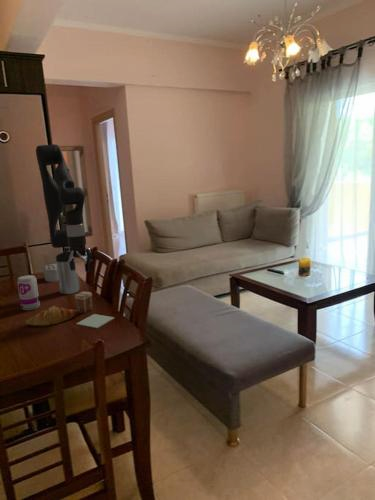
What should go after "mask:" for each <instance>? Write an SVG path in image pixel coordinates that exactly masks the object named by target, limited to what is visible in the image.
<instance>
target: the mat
mask: <svg viewBox="0 0 375 500" xmlns="http://www.w3.org/2000/svg"><path fill="white" fill-rule="evenodd" d="M114 319H115V317H114V316H108V315H102V314H97V313H94V314H91V315H90V316H88V317H85V318H84V319H82V320H80V321H79V322H76V323H75V325H77V326H83V327H87V328H93V329H98V328H101V327H102V326H104V325H106V324H107V323H109V322H111V321H113V320H114Z"/></svg>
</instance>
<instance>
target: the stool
mask: <svg viewBox="0 0 375 500" xmlns="http://www.w3.org/2000/svg"><path fill="white" fill-rule="evenodd" d="M92 297H93V293H92V292H89V291H81V292H79V293H77V294H74V299H75V303H76V310H78V313H80V312H81V307H80V305H81V304H80V300H81V301H82V308H83V313H84V314H87V312H88V311H87V304H86V303H87V302H86V299H88V304H89V305H88V306H89V311H92V310H93V302H92Z"/></svg>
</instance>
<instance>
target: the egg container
mask: <svg viewBox="0 0 375 500" xmlns="http://www.w3.org/2000/svg"><path fill="white" fill-rule="evenodd" d="M43 273H44V274H43V275H44V281H45V282H47V283H54V281H55V282H59V281H58V280H59V278H58V270H57V263H48V264H47V265H44V267H43Z"/></svg>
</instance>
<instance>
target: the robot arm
mask: <svg viewBox="0 0 375 500" xmlns="http://www.w3.org/2000/svg"><path fill="white" fill-rule="evenodd" d="M35 155H36V156H35V157H36V160H37V165H38V169H39V173H40V177H41V182H42V183H41V184H42V191H43V198H44V203H45V209H46V215H47V219H48V229H49V239H50V244H51V246H52V248H55V249H60V248H61V249H62V248H64V249H63V250H64V251H63V252H61V253H58V254H57V255H55V262H56V264H57V270H58V278H59V281H58V284H59V293H60V294H61V295H70V294H75V293H77V292H79V290H80V279H79V272H78V271H77V265H76V258H77V259H80V260H82V261H83V263H84V270H85V271H84V272H86V273H89V272H90V271H91V263H92V262H94V255H93V249H92V247H89V248H87V247H86V244H87V237H86V230H85V224H84V217H83V214H84V213H83V212H84V204H85V200H86V194H85V191H84V190H83V188H81V187H78V186H77V187H75V182H74V180H73V177H72V176H71V174H70V172H69V170H68V167H67V164H66V160H65V157H64V153H63V151H62V149H61V147H60V146H59V145H58V144H55V143H54V144H42V145H37V146H36V148H35ZM55 165H57V167H55V170H54V172H53V177H52V175H51V174H50V172H49V170H48V167H47V166H55ZM71 205H72V206H73V205H75V206H74V208H73V209H70V210H67V211H66V212H65V223H66V228H65V229H57V223H58V221H59V219H60V217H61V215H62V213H63V211H64V210H65V206H71Z"/></svg>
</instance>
